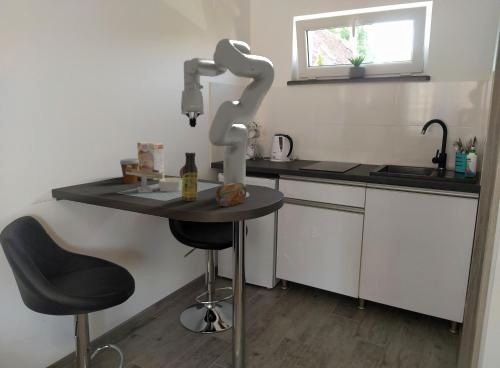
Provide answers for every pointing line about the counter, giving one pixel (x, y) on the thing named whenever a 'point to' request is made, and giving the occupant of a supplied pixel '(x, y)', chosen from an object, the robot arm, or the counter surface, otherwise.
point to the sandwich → (230, 194)
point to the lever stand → (144, 185)
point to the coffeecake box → (151, 157)
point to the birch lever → (143, 172)
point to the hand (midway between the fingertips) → (192, 126)
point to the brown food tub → (134, 165)
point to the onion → (182, 171)
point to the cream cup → (170, 184)
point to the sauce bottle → (189, 178)
